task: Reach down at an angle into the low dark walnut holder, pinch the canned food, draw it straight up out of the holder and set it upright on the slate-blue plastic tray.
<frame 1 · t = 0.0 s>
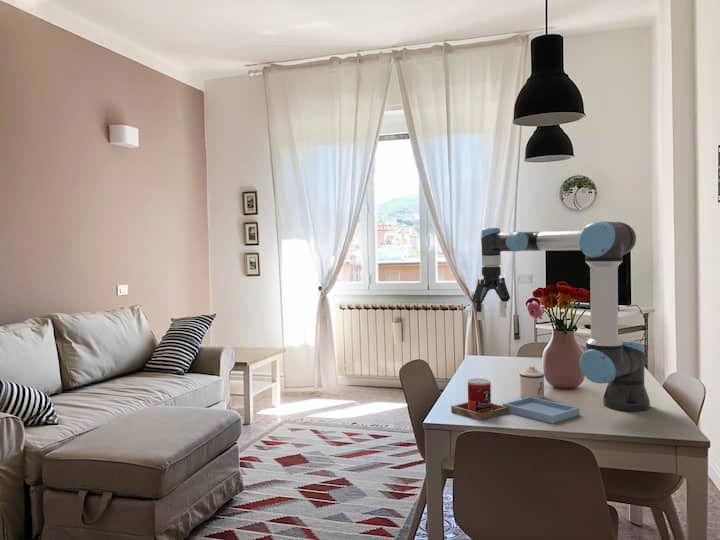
hand: (491, 318, 239), 28 cm above the table, tool pointing down, fingers open, 13 cm apart
slate-blue tray: (540, 412, 202), on the table
canned food: (479, 413, 204), resting in walnut holder
walnut holder: (479, 412, 204), on the table
teacup with lid: (532, 396, 225), on the table
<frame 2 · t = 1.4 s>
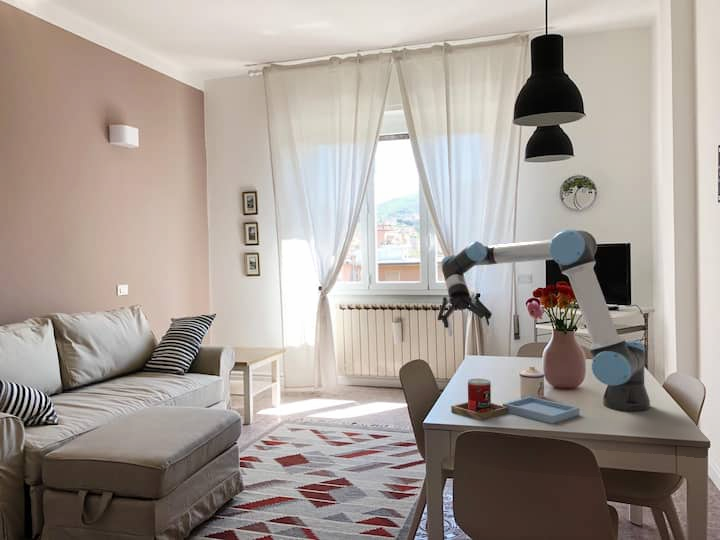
hand: (469, 333, 214), 26 cm above the table, tool tilted 45°, fingers open, 13 cm apart
nothing on the table moved.
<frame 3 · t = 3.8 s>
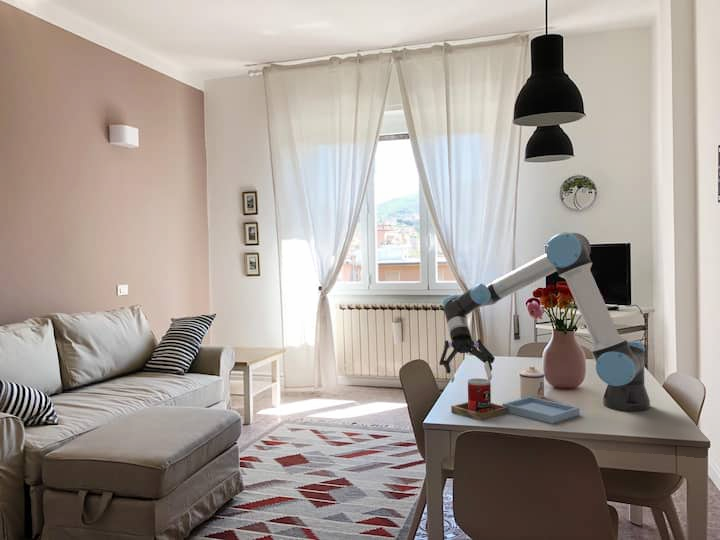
hand: (471, 379, 209), 10 cm above the table, tool tilted 45°, fingers open, 13 cm apart
nothing on the table moved.
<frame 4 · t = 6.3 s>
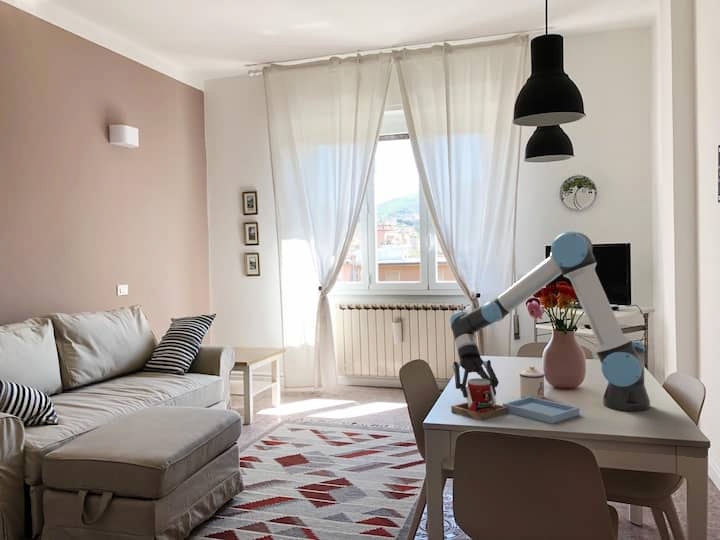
hand: (482, 404, 200), 4 cm above the table, tool tilted 45°, fingers closed on canned food, 8 cm apart
canned food: (479, 412, 204), resting in walnut holder, touching gripper
everything else where it was.
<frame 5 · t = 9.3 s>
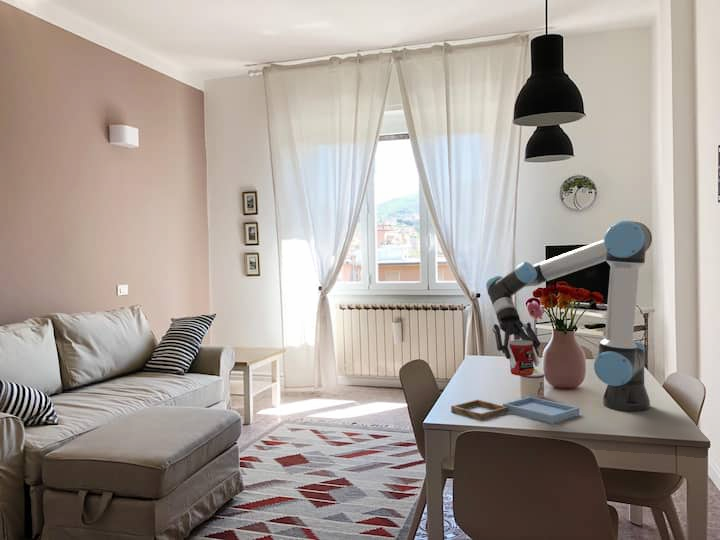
hand: (525, 365, 199), 17 cm above the table, tool tilted 45°, fingers closed on canned food, 8 cm apart
canned food: (522, 374, 203), point 13 cm above the table, touching gripper
everything else where it was.
when the fingers open (6 cm above the table, at t = 12.3 s): canned food stays where it is, resting on slate-blue tray.
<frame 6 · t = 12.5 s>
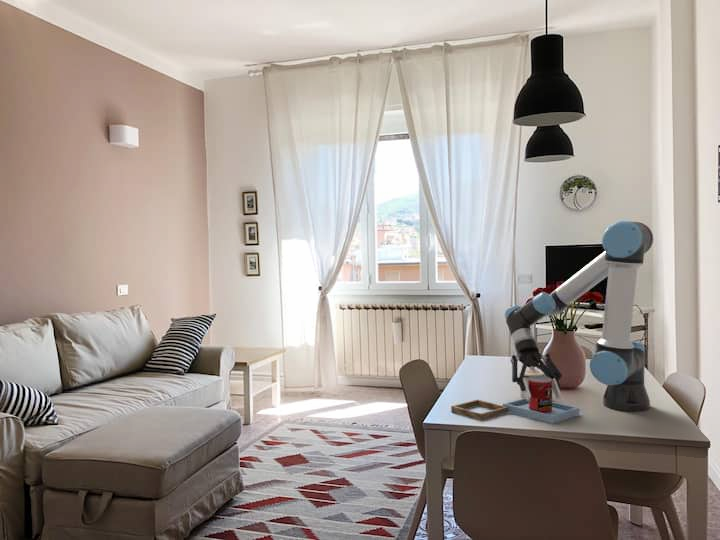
hand: (544, 397, 198), 6 cm above the table, tool tilted 45°, fingers open, 10 cm apart
canned food: (540, 410, 202), point 1 cm above the table, touching slate-blue tray
everything else where it was.
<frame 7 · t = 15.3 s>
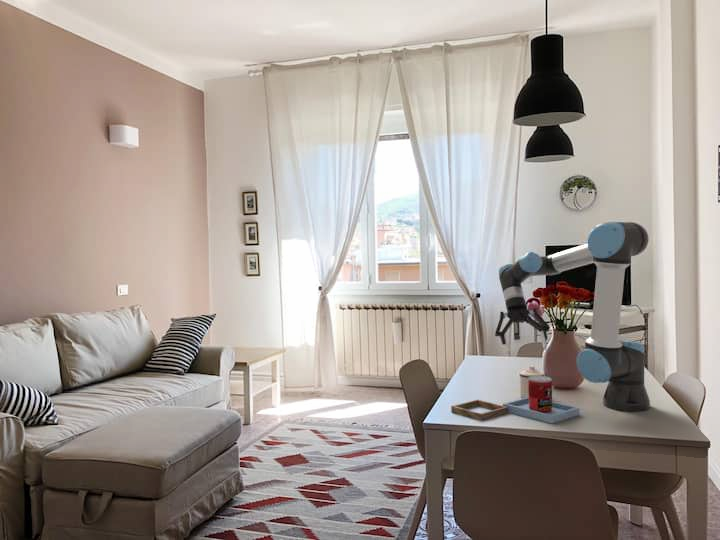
hand: (526, 349, 217), 19 cm above the table, tool tilted 35°, fingers open, 13 cm apart
nothing on the table moved.
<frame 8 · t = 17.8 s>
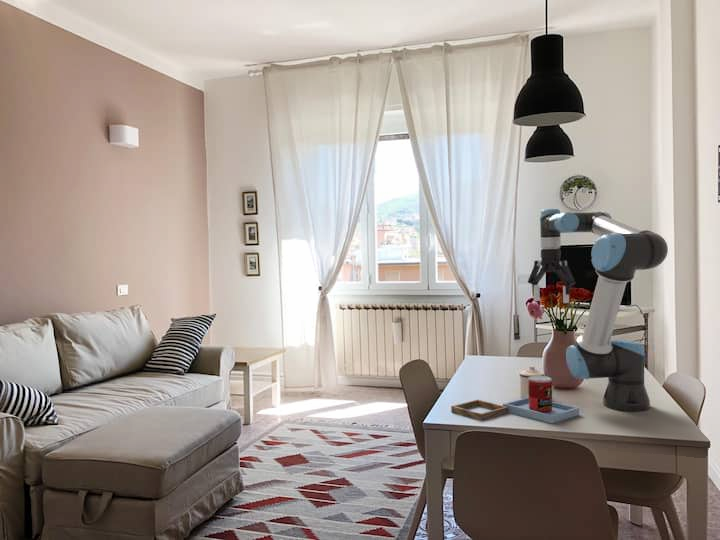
hand: (551, 302, 234), 35 cm above the table, tool pointing down, fingers open, 13 cm apart
nothing on the table moved.
at the end: canned food inside the target area on the slate-blue tray (0.1 cm from its centre), point 0.8 cm above the slate-blue tray's base; canned food tilted 0°; the gripper is holding nothing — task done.
